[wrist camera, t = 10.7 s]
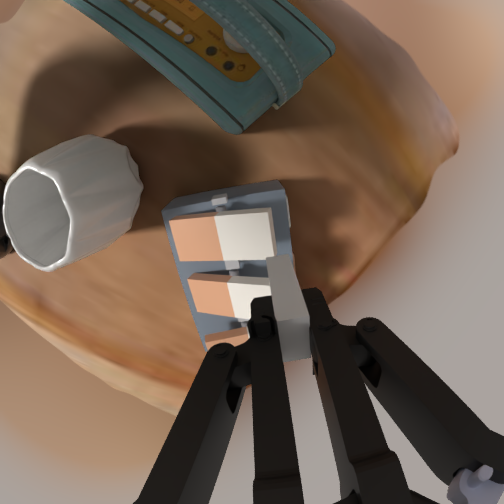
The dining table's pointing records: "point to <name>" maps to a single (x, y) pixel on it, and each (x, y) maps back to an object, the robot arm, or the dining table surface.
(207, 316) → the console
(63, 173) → the vase
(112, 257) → the dining table surface
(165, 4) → the radio
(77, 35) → the dining table surface
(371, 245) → the dining table surface
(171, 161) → the dining table surface
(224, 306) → the rocker mid
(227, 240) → the rocker near
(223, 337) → the rocker far
